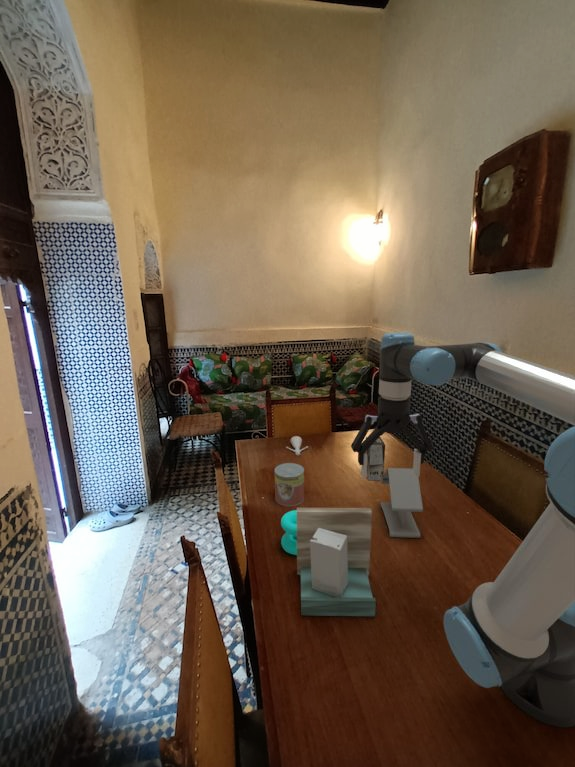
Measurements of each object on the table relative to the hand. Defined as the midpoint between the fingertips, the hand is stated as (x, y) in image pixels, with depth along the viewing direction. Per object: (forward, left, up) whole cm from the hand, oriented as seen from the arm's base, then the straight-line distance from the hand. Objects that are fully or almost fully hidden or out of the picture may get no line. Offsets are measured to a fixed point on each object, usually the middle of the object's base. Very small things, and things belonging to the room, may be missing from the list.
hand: (389, 475), depth 93 cm
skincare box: (-7, +16, -28) cm, 33 cm away
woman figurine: (+84, +25, -31) cm, 93 cm away
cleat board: (-7, +14, -31) cm, 34 cm away
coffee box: (+56, -9, -31) cm, 65 cm away
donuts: (+11, +24, -31) cm, 41 cm away
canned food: (+38, +27, -31) cm, 56 cm away
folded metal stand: (+24, -11, -31) cm, 41 cm away
